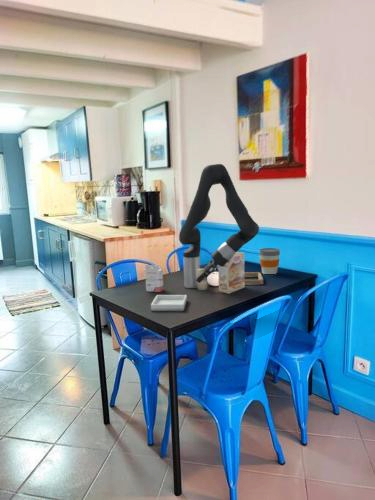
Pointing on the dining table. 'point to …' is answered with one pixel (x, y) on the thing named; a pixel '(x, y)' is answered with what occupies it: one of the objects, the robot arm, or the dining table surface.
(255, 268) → the dining table surface
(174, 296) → the tray
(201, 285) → the gauge plug
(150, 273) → the ink cartridge box
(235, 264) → the coffeecake box
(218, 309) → the dining table surface
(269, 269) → the reusable coffee cup
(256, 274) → the frame
